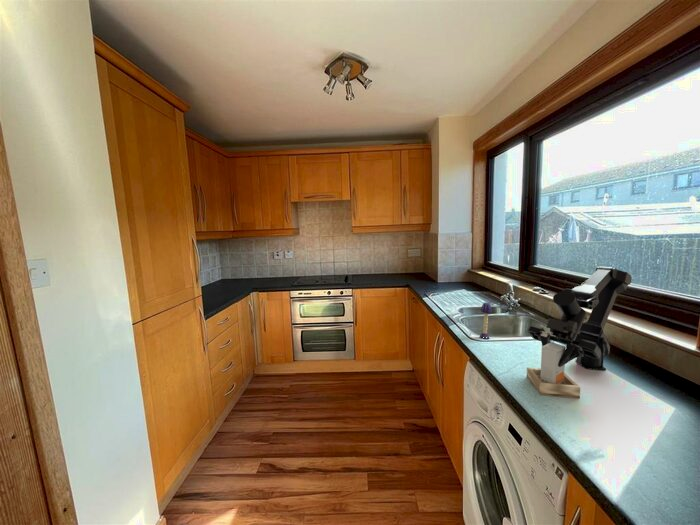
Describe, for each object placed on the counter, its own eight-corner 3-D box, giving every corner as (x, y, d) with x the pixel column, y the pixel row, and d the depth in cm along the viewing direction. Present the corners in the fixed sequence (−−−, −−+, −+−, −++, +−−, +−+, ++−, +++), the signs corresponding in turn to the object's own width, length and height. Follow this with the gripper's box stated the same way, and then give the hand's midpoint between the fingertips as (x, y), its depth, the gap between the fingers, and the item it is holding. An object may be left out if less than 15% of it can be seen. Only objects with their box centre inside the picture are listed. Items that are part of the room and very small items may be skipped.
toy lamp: (490, 336, 129) (491, 302, 127) (491, 340, 125) (492, 304, 123) (479, 335, 131) (480, 301, 129) (479, 338, 127) (480, 304, 125)
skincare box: (554, 387, 84) (556, 351, 83) (539, 381, 88) (541, 346, 87) (564, 381, 87) (566, 346, 86) (549, 375, 91) (551, 341, 90)
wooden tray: (561, 379, 92) (561, 369, 91) (579, 398, 82) (580, 387, 81) (526, 377, 94) (527, 367, 94) (540, 395, 84) (541, 384, 84)
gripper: (531, 302, 95) (511, 340, 91) (599, 316, 78) (578, 363, 75) (542, 319, 100) (524, 356, 96) (609, 336, 83) (590, 381, 79)
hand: (550, 363), depth 86 cm, fingers closed on skincare box, 4 cm apart
